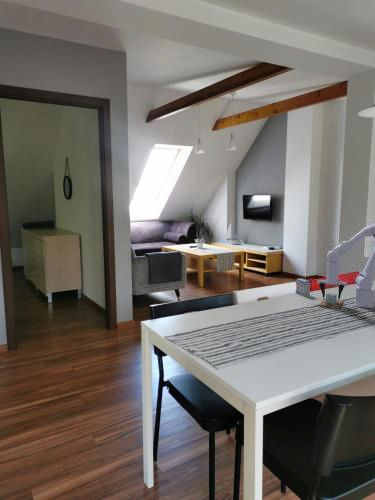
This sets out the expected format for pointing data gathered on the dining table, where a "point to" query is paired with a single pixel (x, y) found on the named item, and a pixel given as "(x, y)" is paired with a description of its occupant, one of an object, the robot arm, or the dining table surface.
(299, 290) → the medicine box
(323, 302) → the walnut board
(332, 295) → the teal cube
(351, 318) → the dining table surface
